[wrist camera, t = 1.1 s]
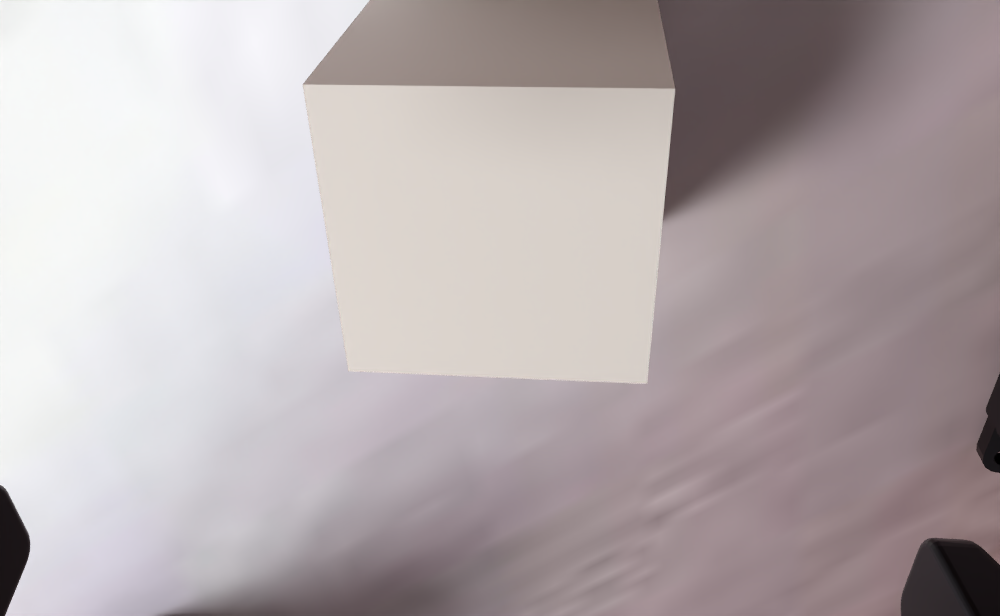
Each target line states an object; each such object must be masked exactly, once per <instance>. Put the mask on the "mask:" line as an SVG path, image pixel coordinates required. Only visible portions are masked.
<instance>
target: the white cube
mask: <svg viewBox="0 0 1000 616" xmlns="http://www.w3.org/2000/svg"><path fill="white" fill-rule="evenodd" d="M303 89H304V96H305V102H306V108H307V115H308V121H309V127H310V133H311V140H312V146H313V152H314V158H315V165H316V171H317V177H318V184H319V190H320V196H321V202H322V209H323V215H324V221H325V227H326V234H327V240H328V246H329V253H330V259H331V265H332V271H333V278H334V284H335V290H336V297H337V303H338V309H339V315H340V322H341V328H342V334H343V340H344V347H345V353H346V359H347V366H348V371H355V372H379V373H402V374H426V375H449V376H473V377H496V378H520V379H543V380H567V381H590V382H614V383H637V384H647V379H648V369H649V358H650V348H651V337H652V327H653V316H654V306H655V296H656V285H657V275H658V264H659V254H660V243H661V233H662V223H663V212H664V202H665V191H666V181H667V170H668V160H669V149H670V139H671V129H672V118H673V108H674V97H675V85H674V80H673V75H672V70H671V65H670V60H669V55H668V50H667V45H666V40H665V35H664V30H663V25H662V20H661V15H660V10H659V5H658V0H370V1H369V2H368V3H367V5H366V6H365V7H364V8H363V10H362V11H361V12H360V13H359V15H358V16H357V17H356V18H355V20H354V21H353V22H352V23H351V25H350V26H349V27H348V28H347V30H346V31H345V32H344V33H343V35H342V36H341V37H340V38H339V40H338V41H337V42H336V43H335V45H334V46H333V47H332V48H331V50H330V51H329V52H328V53H327V55H326V56H325V57H324V58H323V60H322V61H321V62H320V63H319V65H318V66H317V67H316V69H315V70H314V71H313V72H312V74H311V75H310V76H309V77H308V79H307V80H306V81H305V82H304V84H303Z"/></svg>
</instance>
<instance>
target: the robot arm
mask: <svg viewBox="0 0 1000 616" xmlns="http://www.w3.org/2000/svg"><path fill="white" fill-rule="evenodd" d="M986 412H987V415H988V418H987V421H986V423H985V426H984V428H983V431H982V433H981V436H980V438H979V441H978V443H977V449H976V450H977V452H978V454H979V456H980V458H981V460H982V462H983V464H984V466H985V468H987V469H989V470H990V471H993V472H998V473H1000V453H998V452H1000V374H999V377H998V379H997V382H996V384H995V387H994V389H993V392H992V394H991V397H990V399H989V402H988V405H987V407H986ZM29 552H30V538H29V534H28V532H27V530H26V528H25V526H24V524H23V522H22V520H21V518H20V516H19V514H18V512H17V510H16V508H15V506H14V504H13V502H12V500H11V498H10V496H9V494H8V492H7V491H6V489H5V488H4V487H3V486H1V485H0V616H5V614H6V612H7V609H8V607H9V604H10V602H11V600H12V597H13V595H14V592H15V590H16V587H17V585H18V583H19V580H20V578H21V575H22V573H23V570H24V568H25V565H26V563H27V560H28V557H29ZM901 616H1000V565H999V564H998V563H997V562H996V561H995V560H994V559H993V558H992V557H991V556H990V555H989V554H988V553H987V552H986V551H985V550H983V549H982V548H981V547H980V546H979V545H977V544H975V543H974V542H971V541H968V540H960V539H943V538H929V539H927V540H925V541H924V542H923V543H922V544H921V546H920V548H919V550H918V552H917V555H916V558H915V560H914V563H913V566H912V568H911V571H910V574H909V576H908V579H907V582H906V584H905V587H904V590H903V593H902V597H901Z"/></svg>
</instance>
